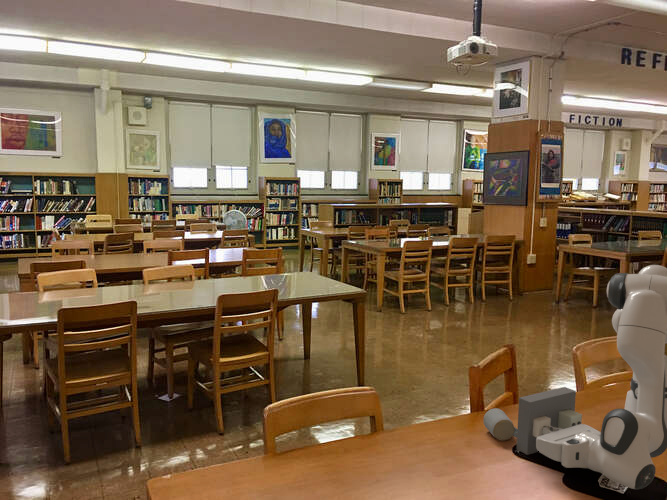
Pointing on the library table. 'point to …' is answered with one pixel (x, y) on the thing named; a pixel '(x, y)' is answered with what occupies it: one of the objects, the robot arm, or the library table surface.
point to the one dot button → (540, 425)
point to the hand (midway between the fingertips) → (545, 429)
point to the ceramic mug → (499, 424)
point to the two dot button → (569, 419)
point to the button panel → (541, 414)
